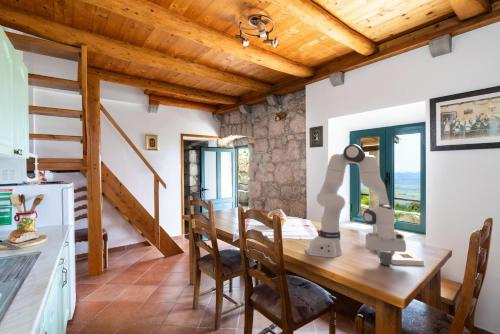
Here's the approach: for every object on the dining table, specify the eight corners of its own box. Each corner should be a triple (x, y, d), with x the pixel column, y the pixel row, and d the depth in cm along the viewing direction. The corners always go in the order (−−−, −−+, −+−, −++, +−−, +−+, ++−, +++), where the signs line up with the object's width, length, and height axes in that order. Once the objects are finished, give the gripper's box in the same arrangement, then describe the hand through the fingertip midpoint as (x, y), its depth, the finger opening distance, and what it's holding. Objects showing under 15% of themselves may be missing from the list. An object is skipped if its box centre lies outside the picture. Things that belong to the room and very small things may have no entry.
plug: (383, 264, 135) (383, 252, 135) (379, 261, 140) (379, 249, 140) (390, 264, 134) (390, 253, 134) (387, 261, 139) (387, 250, 139)
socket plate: (393, 264, 137) (393, 258, 137) (382, 255, 151) (382, 250, 151) (423, 265, 135) (423, 259, 135) (410, 256, 149) (410, 251, 149)
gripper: (367, 234, 136) (367, 259, 136) (407, 236, 132) (407, 261, 132) (364, 231, 142) (363, 255, 142) (402, 233, 139) (402, 257, 139)
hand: (385, 258), depth 137 cm, fingers closed on plug, 4 cm apart
